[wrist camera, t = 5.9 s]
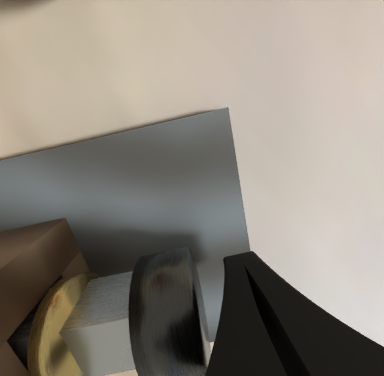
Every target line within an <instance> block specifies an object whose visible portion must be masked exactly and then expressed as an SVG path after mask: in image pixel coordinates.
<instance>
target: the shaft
mask: <svg viewBox="0 0 384 376" xmlns="http://www.w3.org/2000/svg"><path fill="white" fill-rule="evenodd" d="M7 342H8V344H9V345H10V347H11V348H12V350H13V351H14V352H15V354H16V355H17V357H18V358H19V360H20V361H21V362H22V364H23V365H24V367H25V368H26V370H27V371H28V372H29V375H30V376H103V375H109V374H114V373H119V372H124V371H129V370H134V369H136V371H137V373H138V376H205V374H206V371H207V367H208V364H209V360H210V356H211V350H210V341H209V333H208V325H207V319H206V312H205V306H204V300H203V295H202V290H201V285H200V280H199V276H198V271H197V267H196V263H195V260H194V256H193V253H192V251H191V248H190V247H189V246H187V247H182V248H177V249H173V250H168V251H163V252H158V253H154V254H149V255H144V256H141V257H140V258H139V259H138V260H137V262H136V264H135V267H134V270H133V271H129V272H125V273H120V274H115V275H110V276H106V277H101V278H100V277H99V276H98V275H97V274H95V273H92V272H87V273H82V274H78V275H73V276H68V277H65V278H63V279H61V280H59V281H58V282H57V283H55V284H54V285H53V286H52V287H51V288H49V290H48V291H47V292H46V293H45V295H44V296H43V297H42V298H41V299H40V301H39V302H38V303H37V304H36V306H35V307H34V308H33V309H32V310H31V312H30V313H29V314H28V315H27V317H26V318H25V319H24V320H23V321H22V323H21V324H20V325H19V326H18V328H17V329H16V330H15V331H14V333H13V334H12V335H11V336H10V337H9V339H8V340H7Z"/></svg>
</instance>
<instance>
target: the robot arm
mask: <svg viewBox="0 0 384 376" xmlns="http://www.w3.org/2000/svg"><path fill="white" fill-rule="evenodd" d="M223 263H224V290H223V299H222V306H221V312H220V318H219V323H218V328H217V333H216V337H215V341H214V345H213V349H212V353H211V356H210V360H209V364H208V367H207V371H206V374H205V376H384V347H383V346H381V345H379V344H378V343H376V342H374V341H372V340H371V339H369V338H367V337H365V336H364V335H362V334H361V333H359V332H357V331H356V330H354V329H352V328H351V327H349V326H348V325H346V324H344V323H343V322H341V321H340V320H338V319H337V318H335V317H334V316H332V315H331V314H329V313H328V312H326V311H325V310H323V309H322V308H320V307H319V306H318V305H316V304H315V303H313V302H312V301H311V300H309V299H308V298H307V297H305V296H304V295H303V294H301V293H300V292H299V291H297V290H296V289H295V288H294V287H292V286H291V285H290V284H289V283H287V282H286V281H285V280H284V279H283V278H281V277H280V276H279V275H278V274H277V273H276V272H274V271H273V270H272V269H271V268H270V267H269V266H268V265H267V264H266V263H265V262H263V261H262V260H261V259H260V258H259V257H258V256H257V255H256V254H255V253H254V252H253V251H250V252H245V253H240V254H236V255H231V256H227V257H224V259H223Z"/></svg>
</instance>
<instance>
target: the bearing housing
mask: <svg viewBox="0 0 384 376" xmlns="http://www.w3.org/2000/svg"><path fill="white" fill-rule="evenodd" d="M187 246H189V247H190V248H191V251H192V253H193V256H194V260H195V263H196V267H197V271H198V276H199V280H200V285H201V290H202V295H203V300H204V306H205V312H206V319H207V325H208V333H209V341H210V342H214V341H215V337H216V333H217V328H218V323H219V318H220V312H221V306H222V299H223V290H224V263H223V259H224V257H227V256H231V255H236V254H240V253H245V252H250V246H249V239H248V233H247V226H246V220H245V213H244V207H243V200H242V194H241V187H240V181H239V174H238V168H237V161H236V155H235V148H234V142H233V135H232V129H231V122H230V116H229V109H228V107H227V108H223V109H219V110H214V111H210V112H206V113H202V114H197V115H193V116H189V117H184V118H180V119H176V120H172V121H167V122H163V123H159V124H154V125H150V126H146V127H141V128H137V129H133V130H129V131H124V132H120V133H116V134H111V135H107V136H103V137H99V138H94V139H90V140H86V141H81V142H77V143H73V144H69V145H64V146H60V147H56V148H51V149H47V150H43V151H39V152H34V153H30V154H26V155H21V156H17V157H13V158H8V159H4V160H0V376H30V375H29V372H28V371H27V370H26V368H25V367H24V365H23V364H22V362H21V361H20V360H19V358H18V357H17V355H16V354H15V352H14V351H13V350H12V348H11V347H10V345H9V344H8V342H7V340H8V339H9V337H10V336H11V335H12V334H13V333H14V331H15V330H16V329H17V328H18V326H19V325H20V324H21V323H22V321H23V320H24V319H25V318H26V317H27V315H28V314H29V313H30V312H31V310H32V309H33V308H34V307H35V306H36V304H37V303H38V302H39V301H40V299H41V298H42V297H43V296H44V295H45V293H46V292H47V291H48V290H49V288H51V287H52V286H53V285H54V284H55V283H57V282H58V281H59V280H61V279H63V278H65V277H68V276H73V275H78V274H82V273H87V272H92V273H95V274H97V275H98V276H99V277H100V278H101V277H106V276H110V275H115V274H120V273H125V272H129V271H133V270H134V267H135V264H136V262H137V260H138V259H139V258H140V257H141V256H144V255H149V254H154V253H158V252H163V251H168V250H173V249H177V248H182V247H187Z"/></svg>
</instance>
